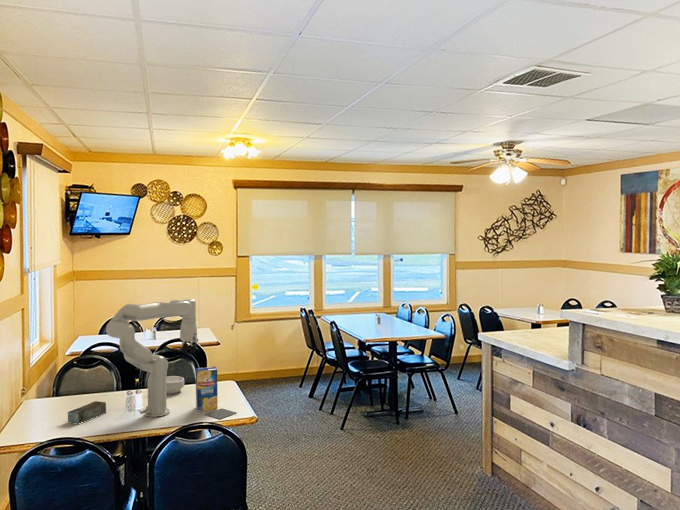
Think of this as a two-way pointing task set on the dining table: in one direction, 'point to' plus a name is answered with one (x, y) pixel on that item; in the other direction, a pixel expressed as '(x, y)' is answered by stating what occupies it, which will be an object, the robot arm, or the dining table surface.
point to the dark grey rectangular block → (87, 412)
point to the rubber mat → (220, 413)
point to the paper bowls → (174, 384)
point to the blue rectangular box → (206, 388)
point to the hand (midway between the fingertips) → (189, 351)
